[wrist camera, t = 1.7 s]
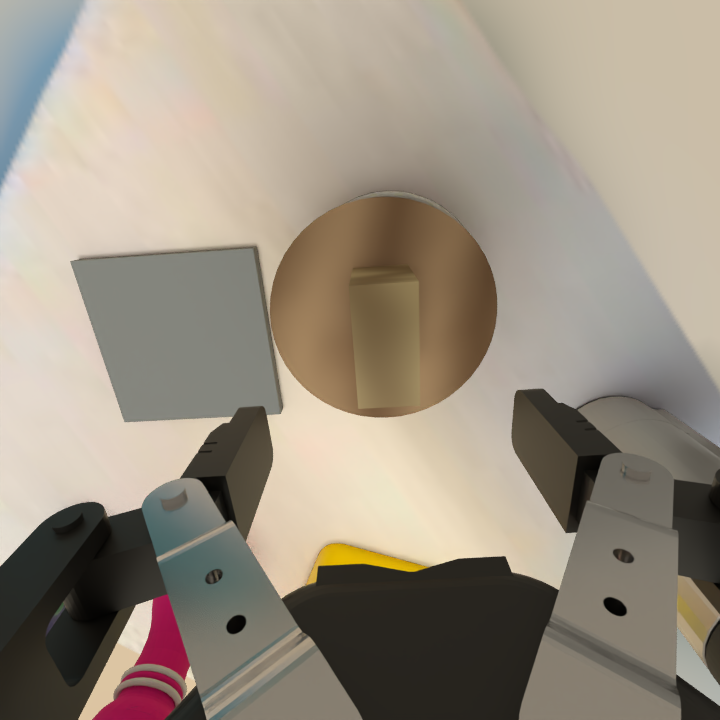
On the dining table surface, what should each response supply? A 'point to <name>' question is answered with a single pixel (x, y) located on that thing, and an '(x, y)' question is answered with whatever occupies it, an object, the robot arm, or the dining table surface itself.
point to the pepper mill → (153, 673)
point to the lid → (383, 307)
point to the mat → (182, 332)
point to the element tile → (357, 559)
